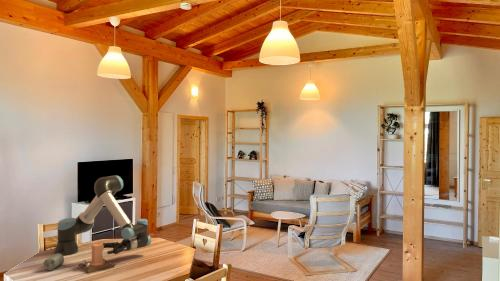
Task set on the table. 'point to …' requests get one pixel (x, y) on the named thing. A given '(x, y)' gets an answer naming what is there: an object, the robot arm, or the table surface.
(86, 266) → the dowels
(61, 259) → the spool
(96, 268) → the plate
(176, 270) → the table surface
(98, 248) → the tall pillar on disc
